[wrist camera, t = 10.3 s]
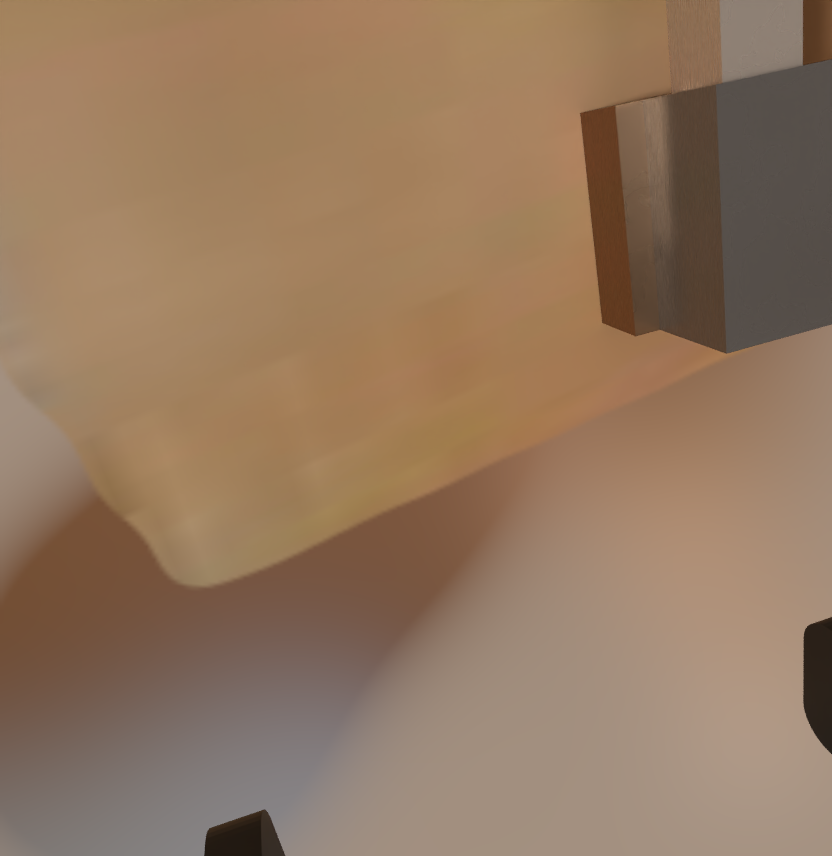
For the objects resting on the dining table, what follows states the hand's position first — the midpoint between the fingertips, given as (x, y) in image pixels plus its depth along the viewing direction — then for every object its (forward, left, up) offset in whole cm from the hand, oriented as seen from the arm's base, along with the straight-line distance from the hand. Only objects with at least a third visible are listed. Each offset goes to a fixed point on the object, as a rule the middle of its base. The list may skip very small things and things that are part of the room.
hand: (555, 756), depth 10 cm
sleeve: (-2, +21, -32) cm, 38 cm away
